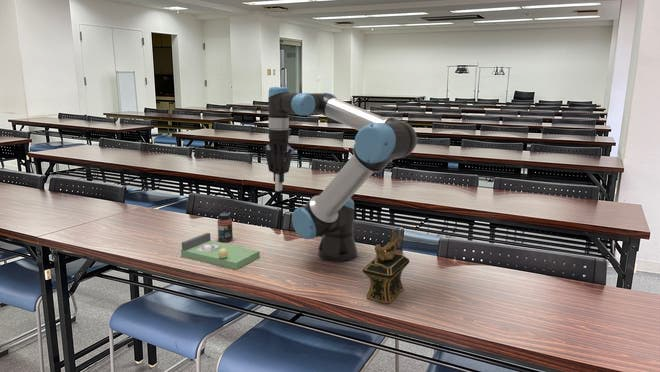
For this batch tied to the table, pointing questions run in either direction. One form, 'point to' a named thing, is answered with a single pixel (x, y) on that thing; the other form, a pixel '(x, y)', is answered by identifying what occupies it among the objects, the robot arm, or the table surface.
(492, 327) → the table surface
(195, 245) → the green
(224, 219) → the supplement bottle
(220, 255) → the yellow ball
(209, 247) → the ball
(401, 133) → the robot arm
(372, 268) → the decorative box
